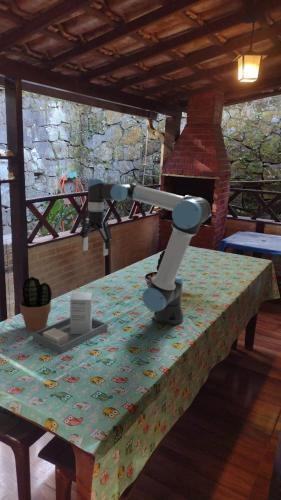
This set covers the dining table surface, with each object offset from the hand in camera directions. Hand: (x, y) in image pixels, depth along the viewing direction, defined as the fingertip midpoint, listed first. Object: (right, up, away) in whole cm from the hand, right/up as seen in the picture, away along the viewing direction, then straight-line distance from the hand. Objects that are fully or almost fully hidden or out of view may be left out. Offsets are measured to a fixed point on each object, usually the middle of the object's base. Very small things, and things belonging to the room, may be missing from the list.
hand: (95, 252), depth 183 cm
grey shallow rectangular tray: (-8, -37, -20) cm, 43 cm away
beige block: (-14, -38, -27) cm, 48 cm away
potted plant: (-26, -35, -13) cm, 46 cm away
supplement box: (-5, -36, -15) cm, 39 cm away
